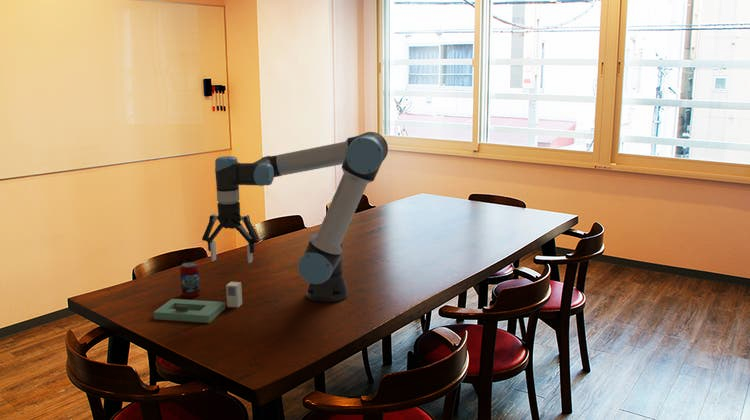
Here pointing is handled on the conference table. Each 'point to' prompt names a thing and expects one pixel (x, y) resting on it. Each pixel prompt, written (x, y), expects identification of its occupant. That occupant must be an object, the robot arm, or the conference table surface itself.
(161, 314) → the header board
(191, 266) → the beverage can
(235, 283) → the plug
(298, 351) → the conference table surface
